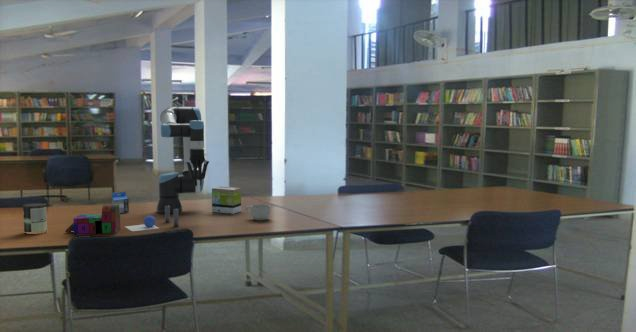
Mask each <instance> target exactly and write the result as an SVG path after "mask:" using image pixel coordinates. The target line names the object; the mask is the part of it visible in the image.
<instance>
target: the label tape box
mask: <svg viewBox="0 0 636 332" xmlns="http://www.w3.org/2000/svg"><path fill="white" fill-rule="evenodd" d="M129 202H130V201H129V198H128V197H127V191H121V192H120V191H119V192H118V191H117V192H112V193H111V204H118V205H119V207H120V214H124V213H129V212H130V206H129V205H130V203H129Z"/></svg>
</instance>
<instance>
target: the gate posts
mask: <svg viewBox="0 0 636 332" xmlns="http://www.w3.org/2000/svg"><path fill="white" fill-rule="evenodd" d="M179 213H180V212H179V211H178V209H173V213H172V214H173V217H172V218H173V227H174V228H178V227H180V221H179V220H180V219H179V218H180V217H179V216H180V215H179ZM170 222H171V213H170V206H165V213H164V224H167V223H169V224H170Z"/></svg>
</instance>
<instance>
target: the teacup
mask: <svg viewBox="0 0 636 332" xmlns="http://www.w3.org/2000/svg"><path fill="white" fill-rule="evenodd" d="M248 209H250V211H249V210H248ZM244 210H245V212H246V213H247V214H248V215H250V217H251V218H252V219H253V220H255V221H259V222H260V221H266V220H267V219H268V218H269V217H270V214H271V205H270V204H265V203H256V204H252V205H247V206H245V209H244Z"/></svg>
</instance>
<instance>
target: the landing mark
mask: <svg viewBox="0 0 636 332" xmlns="http://www.w3.org/2000/svg"><path fill="white" fill-rule="evenodd" d="M124 229H126V230H129V231H131V232H138V231H139V232H141V231H149V230H150V231H151V230H158V229H160V227H158V226H156V225H154V226H152V227H146V226H145V225H144V223H143V224H136V225H126V226H124Z"/></svg>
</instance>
